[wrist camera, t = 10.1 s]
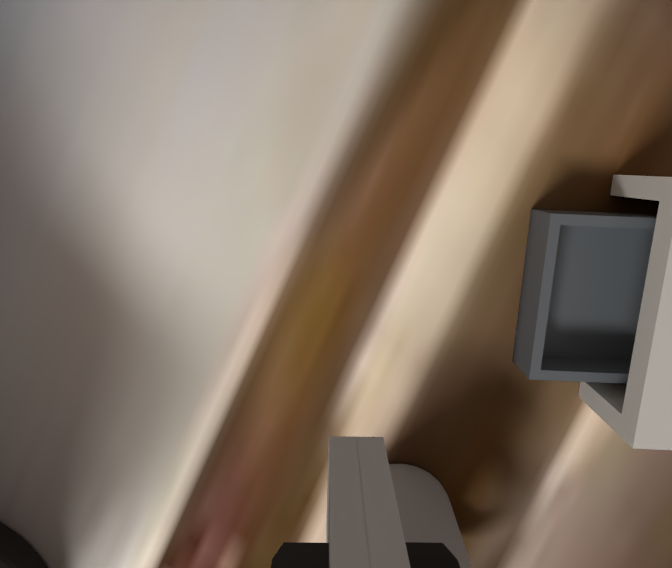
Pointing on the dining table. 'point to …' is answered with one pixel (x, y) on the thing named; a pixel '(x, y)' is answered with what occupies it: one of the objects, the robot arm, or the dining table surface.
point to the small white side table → (645, 336)
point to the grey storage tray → (582, 294)
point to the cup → (426, 510)
